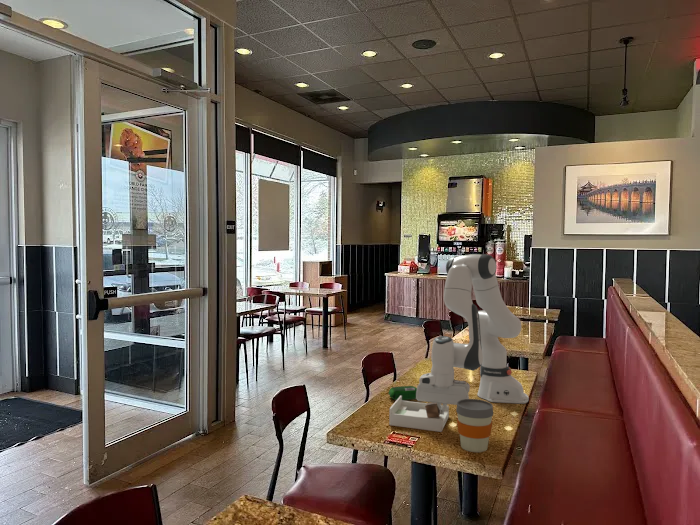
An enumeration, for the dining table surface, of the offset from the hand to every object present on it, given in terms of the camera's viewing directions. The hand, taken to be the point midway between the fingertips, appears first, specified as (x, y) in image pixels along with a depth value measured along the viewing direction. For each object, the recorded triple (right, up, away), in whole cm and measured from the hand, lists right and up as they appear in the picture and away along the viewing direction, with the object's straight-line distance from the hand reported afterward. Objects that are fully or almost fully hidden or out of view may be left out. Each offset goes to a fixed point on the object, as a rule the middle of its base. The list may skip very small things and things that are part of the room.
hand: (441, 414), depth 199 cm
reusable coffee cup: (+7, -5, -22) cm, 23 cm away
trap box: (-8, -4, +4) cm, 10 cm away
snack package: (-11, -3, +32) cm, 34 cm away
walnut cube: (-3, -1, +1) cm, 3 cm away
